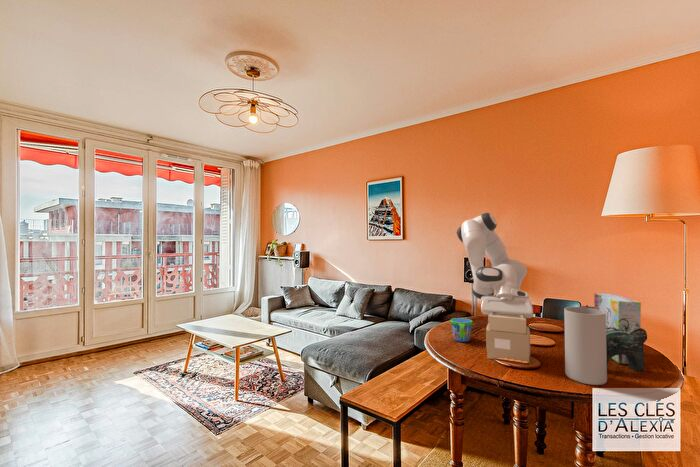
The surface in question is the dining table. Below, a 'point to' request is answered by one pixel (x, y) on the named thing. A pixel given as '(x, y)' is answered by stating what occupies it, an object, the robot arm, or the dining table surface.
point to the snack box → (618, 314)
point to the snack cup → (461, 329)
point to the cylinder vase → (585, 345)
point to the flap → (507, 324)
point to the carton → (508, 344)
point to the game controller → (627, 345)
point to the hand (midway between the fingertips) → (506, 324)
